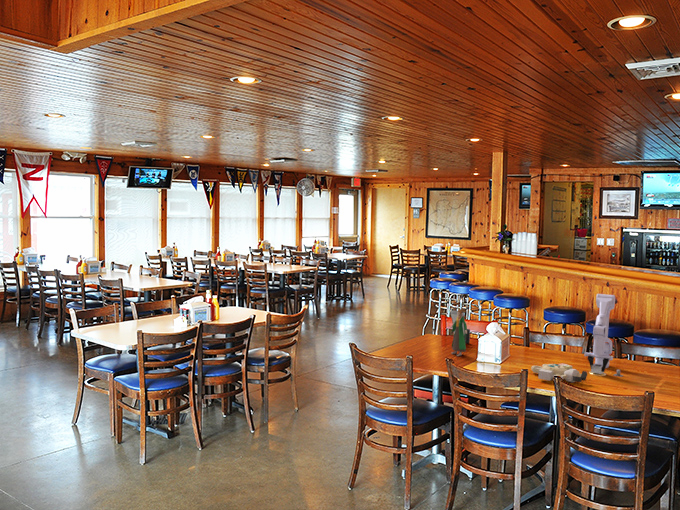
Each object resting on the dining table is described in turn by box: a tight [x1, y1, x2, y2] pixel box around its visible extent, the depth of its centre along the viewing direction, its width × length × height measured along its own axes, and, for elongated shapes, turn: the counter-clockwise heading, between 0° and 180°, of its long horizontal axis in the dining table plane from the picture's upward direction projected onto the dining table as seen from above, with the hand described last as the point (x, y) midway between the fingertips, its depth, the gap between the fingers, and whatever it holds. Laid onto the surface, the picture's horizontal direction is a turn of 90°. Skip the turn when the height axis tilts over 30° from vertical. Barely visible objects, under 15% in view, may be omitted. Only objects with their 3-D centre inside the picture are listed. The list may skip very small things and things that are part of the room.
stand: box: [613, 369, 624, 378], centre depth 326 cm, size 4×4×4 cm
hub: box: [588, 370, 607, 377], centre depth 328 cm, size 9×9×4 cm
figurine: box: [449, 307, 468, 357], centre depth 370 cm, size 16×7×30 cm, turn 27°
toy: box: [531, 363, 588, 383], centre depth 321 cm, size 25×8×30 cm
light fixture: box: [449, 310, 471, 345], centre depth 399 cm, size 11×17×24 cm, turn 152°
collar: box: [590, 363, 604, 374], centre depth 328 cm, size 5×5×4 cm
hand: (597, 370), depth 328 cm, fingers closed on collar, 5 cm apart
